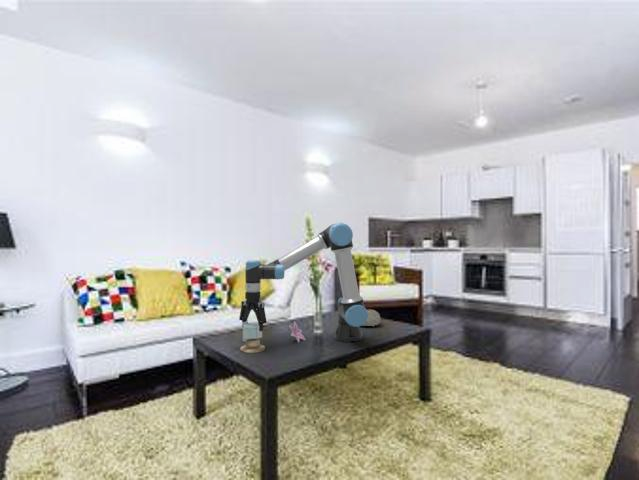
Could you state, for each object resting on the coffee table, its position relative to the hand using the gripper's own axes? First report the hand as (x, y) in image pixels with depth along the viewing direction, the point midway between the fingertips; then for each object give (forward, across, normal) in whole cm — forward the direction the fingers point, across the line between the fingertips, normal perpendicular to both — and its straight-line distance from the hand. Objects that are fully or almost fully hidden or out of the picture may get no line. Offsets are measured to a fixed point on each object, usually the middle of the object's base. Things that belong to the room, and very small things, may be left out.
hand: (252, 335), depth 186 cm
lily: (+7, +9, +25) cm, 27 cm away
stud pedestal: (+7, 0, 0) cm, 7 cm away
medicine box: (+7, -11, +10) cm, 16 cm away
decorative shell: (+7, +24, +80) cm, 84 cm away
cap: (0, 0, 0) cm, 0 cm away
